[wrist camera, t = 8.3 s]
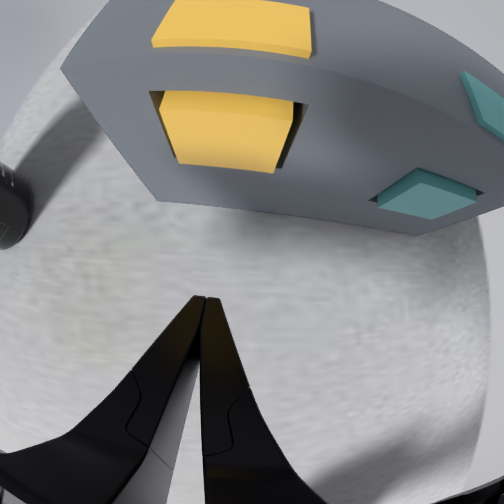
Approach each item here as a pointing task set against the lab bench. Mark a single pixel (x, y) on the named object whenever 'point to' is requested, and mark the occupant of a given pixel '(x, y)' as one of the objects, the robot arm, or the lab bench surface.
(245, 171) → the button panel
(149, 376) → the robot arm
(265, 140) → the amber button
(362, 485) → the lab bench surface
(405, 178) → the teal button
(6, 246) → the supplement bottle
